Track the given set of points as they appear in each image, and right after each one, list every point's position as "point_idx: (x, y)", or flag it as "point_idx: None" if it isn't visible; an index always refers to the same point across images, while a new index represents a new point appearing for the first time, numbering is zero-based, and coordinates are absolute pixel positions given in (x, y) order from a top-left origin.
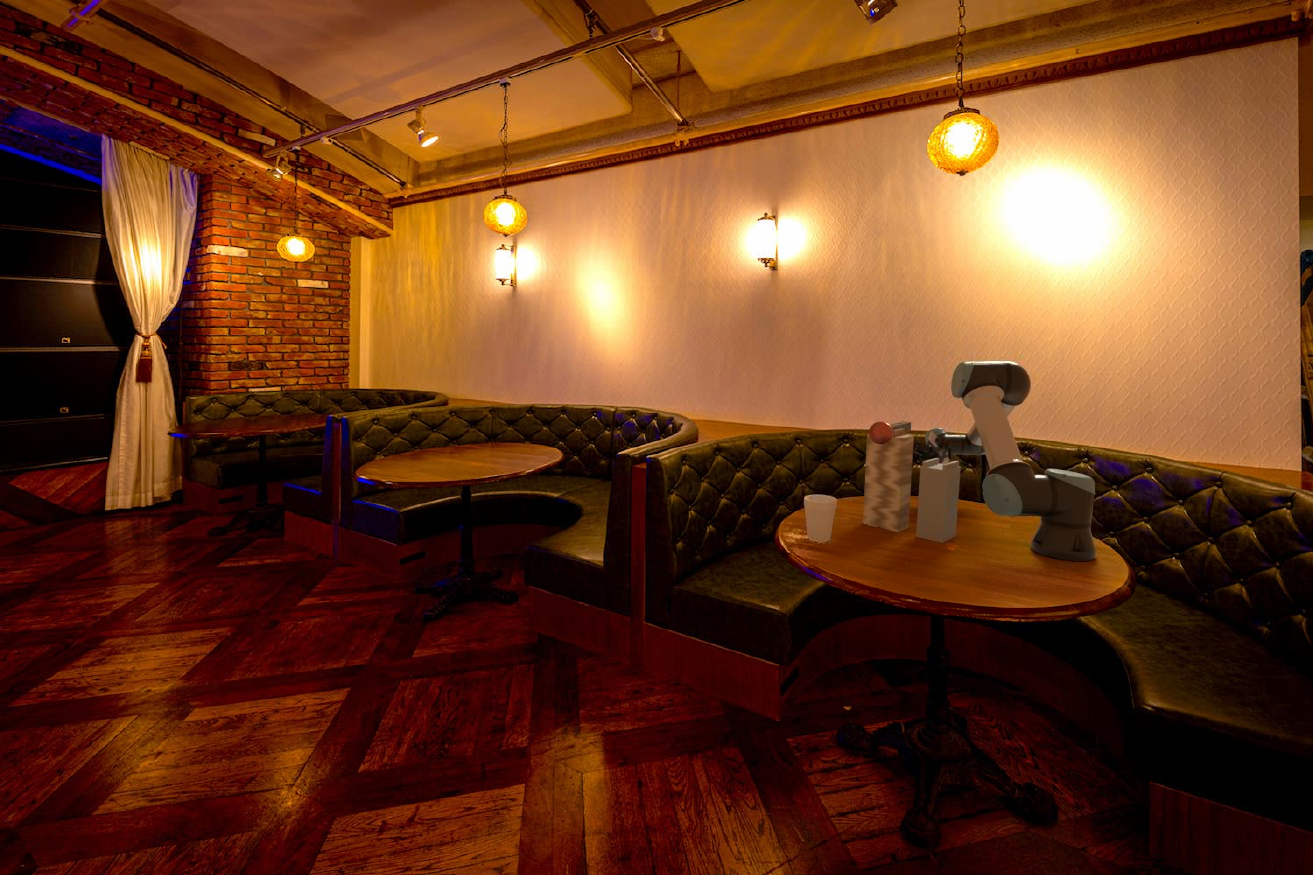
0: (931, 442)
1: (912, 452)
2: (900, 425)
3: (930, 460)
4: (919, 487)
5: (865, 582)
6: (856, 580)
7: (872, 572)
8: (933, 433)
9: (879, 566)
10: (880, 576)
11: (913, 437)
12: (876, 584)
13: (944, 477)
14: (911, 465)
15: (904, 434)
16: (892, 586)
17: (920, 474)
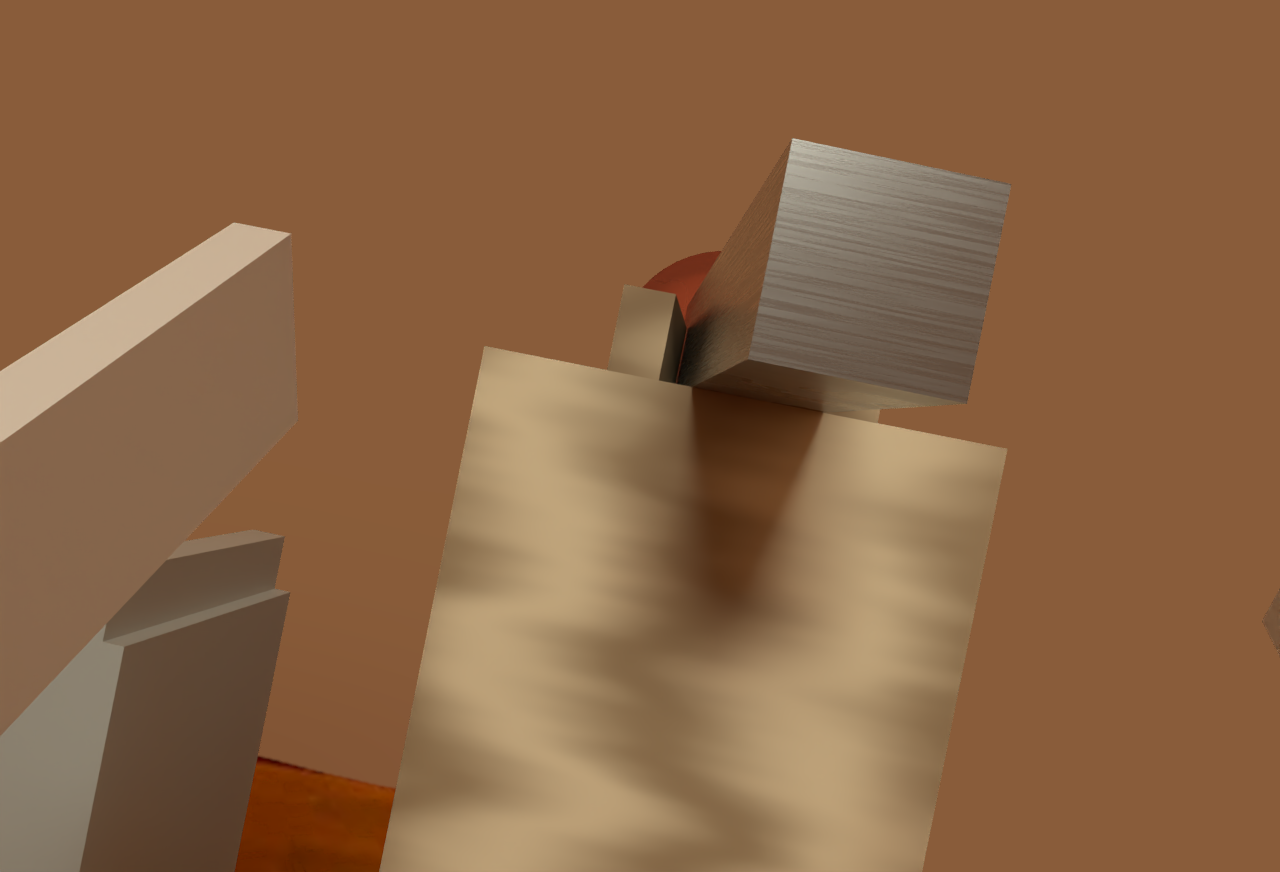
0: (179, 541)
1: (441, 568)
2: (720, 260)
3: (203, 541)
4: (245, 803)
5: (363, 788)
6: (394, 793)
7: (359, 832)
8: (197, 267)
9: (344, 867)
10: (323, 817)
11: (481, 365)
12: (325, 784)
13: None
14: (408, 744)
15: (610, 362)
16: (272, 782)
17: (270, 669)
